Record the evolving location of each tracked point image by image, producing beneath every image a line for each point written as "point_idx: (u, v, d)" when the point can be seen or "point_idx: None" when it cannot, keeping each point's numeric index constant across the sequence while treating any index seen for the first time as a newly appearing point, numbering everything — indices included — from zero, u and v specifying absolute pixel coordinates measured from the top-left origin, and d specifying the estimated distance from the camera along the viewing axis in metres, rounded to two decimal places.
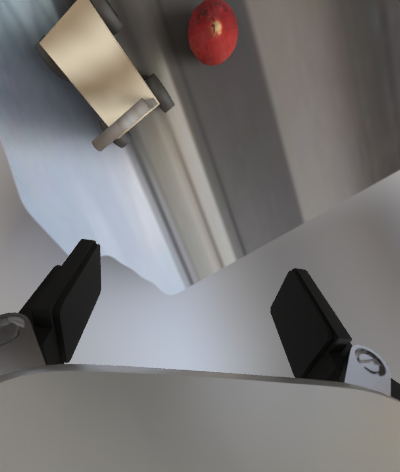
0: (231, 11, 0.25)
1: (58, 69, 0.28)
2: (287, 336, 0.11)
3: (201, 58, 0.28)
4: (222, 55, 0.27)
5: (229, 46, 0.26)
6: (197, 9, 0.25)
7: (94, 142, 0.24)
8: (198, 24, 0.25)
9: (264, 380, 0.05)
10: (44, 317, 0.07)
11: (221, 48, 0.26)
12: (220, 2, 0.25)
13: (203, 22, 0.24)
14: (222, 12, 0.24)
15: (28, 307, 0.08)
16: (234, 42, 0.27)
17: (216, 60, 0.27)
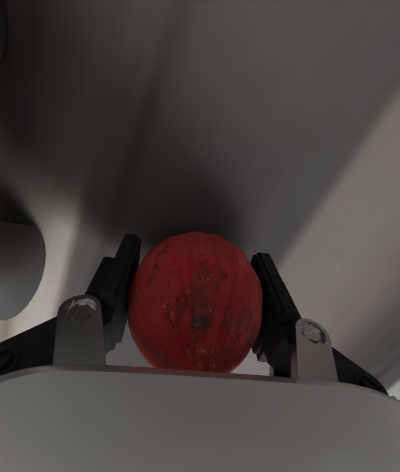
0: (257, 333, 0.09)
1: None
2: None
3: None
4: None
5: None
6: (195, 278, 0.08)
7: None
8: (166, 327, 0.07)
9: (264, 380, 0.05)
10: (109, 299, 0.08)
11: None
12: (253, 312, 0.08)
13: (179, 340, 0.07)
14: (239, 353, 0.08)
15: (90, 292, 0.09)
16: None
17: None
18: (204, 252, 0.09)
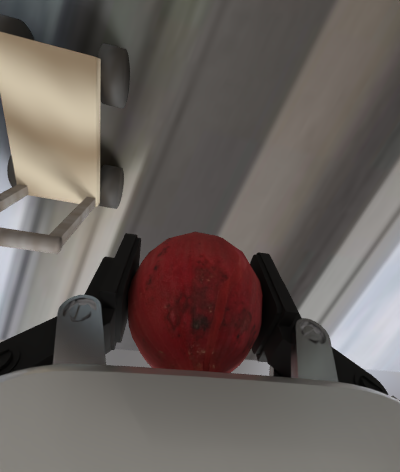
0: (257, 334, 0.09)
1: None
2: None
3: None
4: None
5: None
6: (195, 279, 0.08)
7: None
8: (166, 327, 0.07)
9: (264, 380, 0.05)
10: (109, 299, 0.08)
11: None
12: (253, 313, 0.08)
13: (180, 341, 0.07)
14: (239, 353, 0.08)
15: (90, 292, 0.09)
16: None
17: None
18: (204, 253, 0.09)
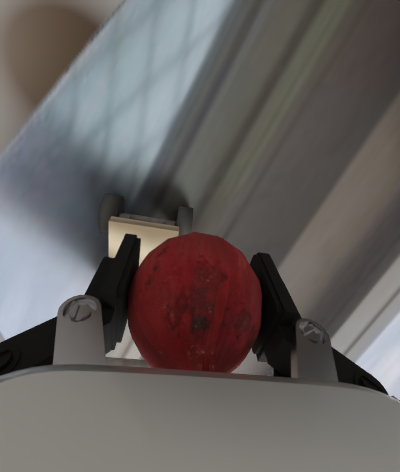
0: (257, 334, 0.09)
1: (105, 232, 0.25)
2: None
3: None
4: None
5: None
6: (195, 279, 0.08)
7: None
8: (166, 328, 0.07)
9: (264, 380, 0.05)
10: (109, 299, 0.08)
11: None
12: (252, 313, 0.08)
13: (179, 341, 0.07)
14: (238, 354, 0.08)
15: (90, 292, 0.09)
16: None
17: None
18: (204, 253, 0.09)
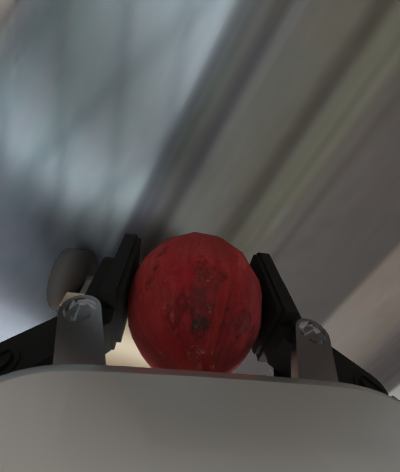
0: (257, 334, 0.09)
1: None
2: None
3: None
4: None
5: None
6: (195, 279, 0.08)
7: None
8: (166, 328, 0.07)
9: (264, 380, 0.05)
10: (109, 299, 0.08)
11: None
12: (252, 313, 0.08)
13: (179, 341, 0.07)
14: (238, 354, 0.08)
15: (90, 292, 0.09)
16: None
17: None
18: (204, 253, 0.09)
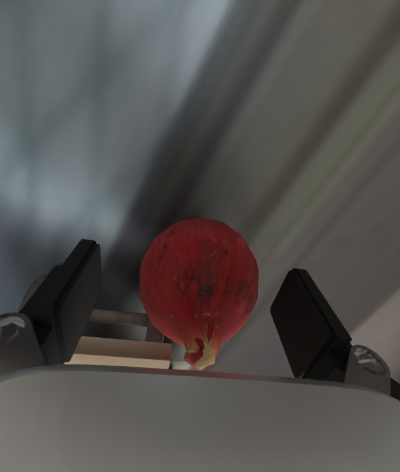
0: (254, 305, 0.10)
1: None
2: (287, 336, 0.11)
3: None
4: None
5: None
6: (200, 254, 0.09)
7: None
8: (176, 295, 0.09)
9: (264, 380, 0.05)
10: (44, 317, 0.07)
11: None
12: (250, 284, 0.10)
13: (188, 306, 0.09)
14: (238, 318, 0.09)
15: (28, 307, 0.08)
16: None
17: None
18: (207, 233, 0.10)
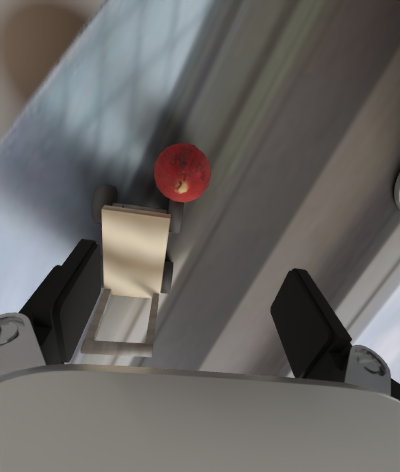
0: (207, 179, 0.23)
1: (99, 221, 0.26)
2: (287, 336, 0.11)
3: (156, 184, 0.24)
4: (175, 200, 0.24)
5: (186, 200, 0.24)
6: (181, 150, 0.22)
7: (83, 348, 0.23)
8: (171, 165, 0.21)
9: (264, 380, 0.05)
10: (44, 317, 0.07)
11: (176, 198, 0.23)
12: (203, 166, 0.22)
13: (175, 169, 0.21)
14: (197, 177, 0.22)
15: (28, 307, 0.08)
16: (193, 199, 0.24)
17: (168, 197, 0.24)
18: (184, 145, 0.22)
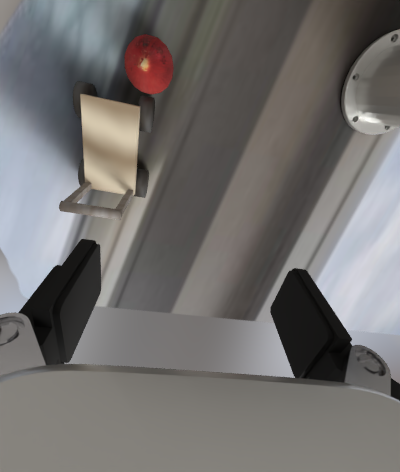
0: (168, 66, 0.27)
1: (79, 112, 0.31)
2: (287, 336, 0.11)
3: (126, 72, 0.28)
4: (142, 87, 0.28)
5: (151, 87, 0.28)
6: (144, 36, 0.26)
7: (62, 205, 0.27)
8: (135, 47, 0.26)
9: (264, 380, 0.05)
10: (44, 317, 0.07)
11: (142, 81, 0.27)
12: (164, 52, 0.27)
13: (139, 49, 0.25)
14: (158, 59, 0.26)
15: (28, 307, 0.08)
16: (157, 88, 0.29)
17: (136, 86, 0.28)
18: (149, 35, 0.27)
